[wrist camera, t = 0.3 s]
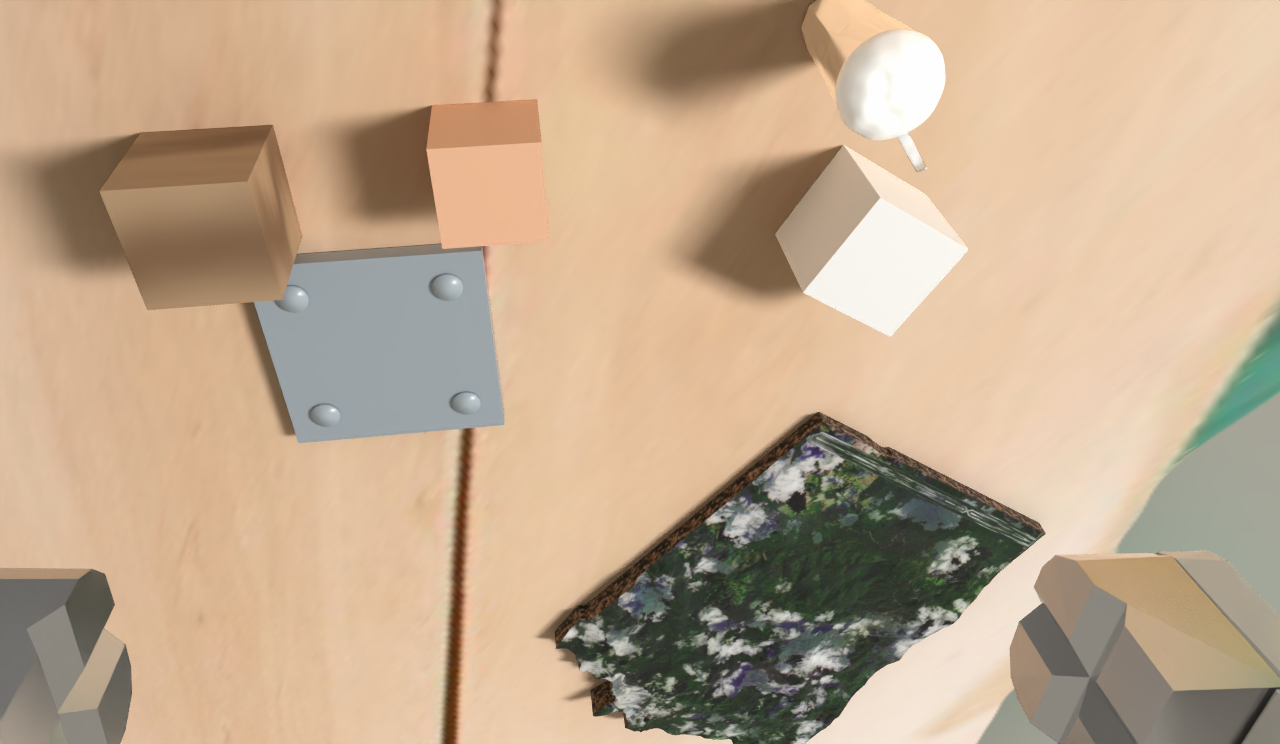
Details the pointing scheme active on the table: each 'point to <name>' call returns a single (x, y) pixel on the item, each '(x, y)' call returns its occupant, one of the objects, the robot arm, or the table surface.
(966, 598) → the topographical map
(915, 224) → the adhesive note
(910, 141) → the milkshake
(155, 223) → the block
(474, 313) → the plate
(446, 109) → the block
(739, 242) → the table surface
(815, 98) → the table surface
